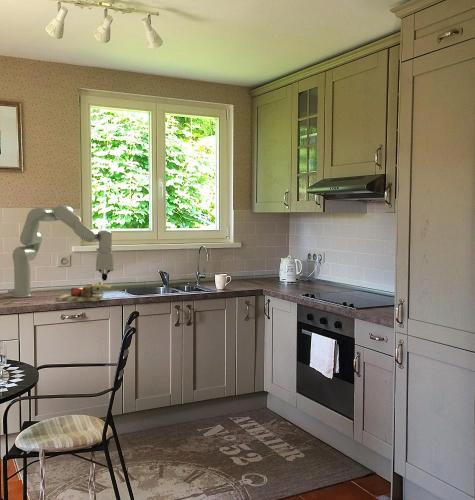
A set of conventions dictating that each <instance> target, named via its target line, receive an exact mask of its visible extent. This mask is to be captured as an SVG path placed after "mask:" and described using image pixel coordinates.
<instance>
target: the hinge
mask: <svg viewBox="0 0 475 500" xmlns="http://www.w3.org/2000/svg"><path fill="white" fill-rule="evenodd" d="M96 284H103V285H104V283H103V282H102V281H101V282H100V281H99V280H98V281H96ZM94 290H102V288H96V287H94ZM94 295H97V294H94Z"/></svg>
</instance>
